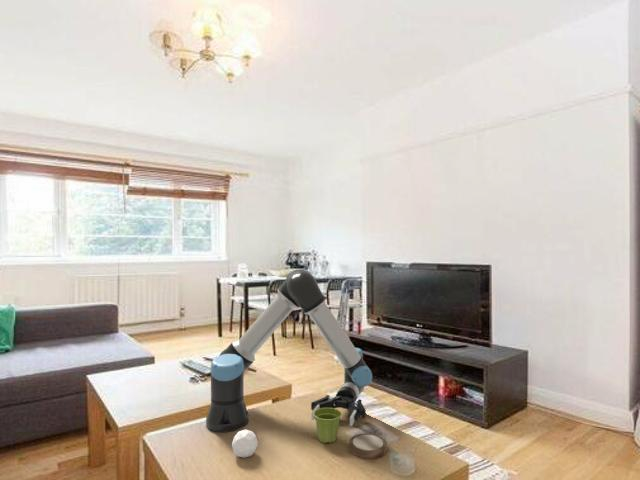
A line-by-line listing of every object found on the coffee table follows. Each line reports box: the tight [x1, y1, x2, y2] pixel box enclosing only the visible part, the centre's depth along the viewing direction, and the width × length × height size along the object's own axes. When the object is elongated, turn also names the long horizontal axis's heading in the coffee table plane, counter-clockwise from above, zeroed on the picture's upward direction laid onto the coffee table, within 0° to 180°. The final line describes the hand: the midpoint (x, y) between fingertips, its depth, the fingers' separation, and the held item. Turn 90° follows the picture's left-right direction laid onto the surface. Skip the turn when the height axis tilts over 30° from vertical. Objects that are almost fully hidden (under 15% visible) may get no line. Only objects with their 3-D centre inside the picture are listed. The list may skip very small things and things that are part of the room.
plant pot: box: [313, 408, 343, 444], centre depth 137 cm, size 9×9×9 cm
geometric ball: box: [231, 429, 259, 459], centre depth 126 cm, size 8×8×8 cm
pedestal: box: [348, 432, 388, 460], centre depth 130 cm, size 12×12×2 cm
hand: (331, 419), depth 138 cm, fingers open, 13 cm apart
